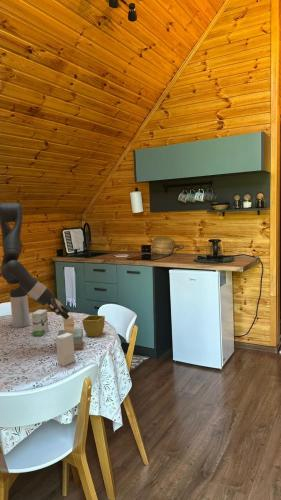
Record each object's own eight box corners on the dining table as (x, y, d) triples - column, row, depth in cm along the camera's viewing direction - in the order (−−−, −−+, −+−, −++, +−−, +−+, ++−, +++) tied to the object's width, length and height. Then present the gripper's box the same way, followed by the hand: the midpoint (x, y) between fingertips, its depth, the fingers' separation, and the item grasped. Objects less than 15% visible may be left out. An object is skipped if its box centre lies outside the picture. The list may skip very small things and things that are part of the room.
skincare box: (68, 359, 162) (66, 331, 161) (75, 361, 160) (73, 333, 158) (57, 364, 158) (54, 336, 156) (64, 366, 155) (61, 338, 153)
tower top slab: (59, 337, 182) (59, 330, 182) (83, 335, 183) (82, 328, 183) (57, 345, 171) (56, 338, 171) (81, 343, 172) (81, 336, 172)
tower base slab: (58, 344, 182) (58, 337, 181) (82, 342, 184) (81, 335, 184) (58, 353, 171) (57, 345, 171) (83, 350, 173) (82, 343, 173)
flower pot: (90, 331, 197) (89, 314, 196) (106, 332, 194) (105, 315, 193) (82, 337, 189) (81, 319, 188) (98, 338, 186) (97, 320, 185)
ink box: (41, 336, 194) (40, 313, 192) (33, 336, 195) (31, 313, 193) (49, 330, 202) (47, 309, 201) (40, 330, 203) (38, 308, 202)
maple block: (64, 332, 178) (63, 315, 177) (74, 331, 179) (73, 314, 178) (64, 335, 174) (63, 318, 173) (74, 334, 175) (73, 317, 174)
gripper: (45, 290, 166) (73, 313, 169) (46, 284, 179) (73, 305, 183) (33, 303, 165) (62, 326, 169) (36, 296, 179) (62, 317, 183)
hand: (68, 315), depth 176 cm, fingers open, 8 cm apart
